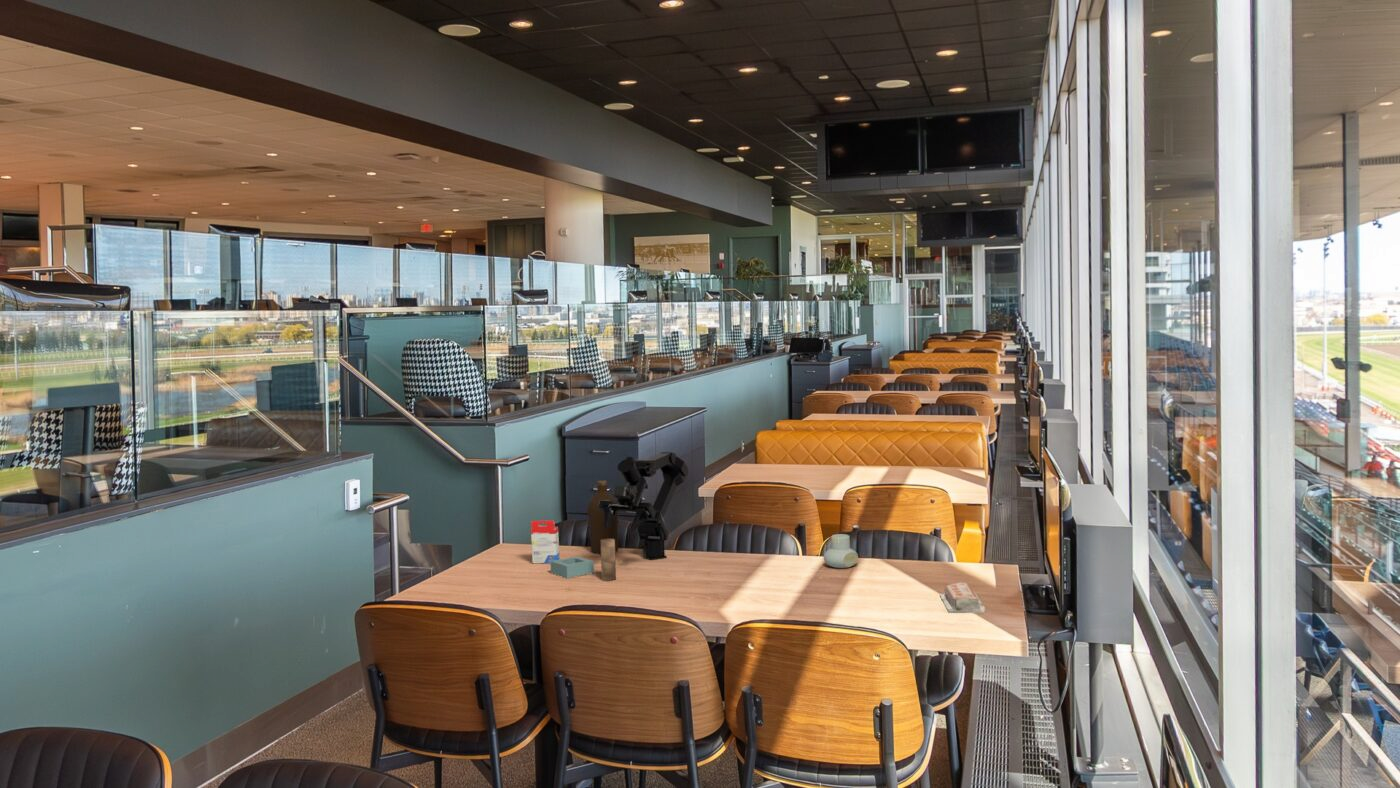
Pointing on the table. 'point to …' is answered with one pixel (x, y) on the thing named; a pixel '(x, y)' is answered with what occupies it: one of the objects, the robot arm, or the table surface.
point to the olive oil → (601, 520)
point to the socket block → (572, 567)
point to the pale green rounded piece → (840, 552)
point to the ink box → (544, 542)
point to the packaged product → (961, 599)
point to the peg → (608, 559)
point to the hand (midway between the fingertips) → (618, 530)
